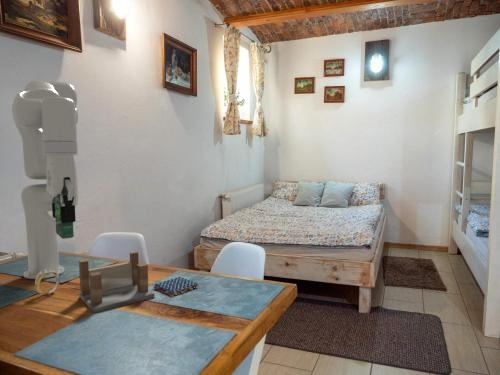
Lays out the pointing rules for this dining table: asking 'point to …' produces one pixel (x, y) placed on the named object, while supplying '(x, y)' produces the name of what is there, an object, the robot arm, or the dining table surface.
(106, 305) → the wooden block stand
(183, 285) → the woven mat
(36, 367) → the dining table surface
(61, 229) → the coffee box
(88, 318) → the dining table surface
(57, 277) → the bracelet
